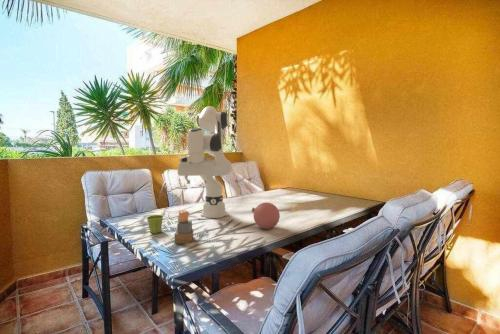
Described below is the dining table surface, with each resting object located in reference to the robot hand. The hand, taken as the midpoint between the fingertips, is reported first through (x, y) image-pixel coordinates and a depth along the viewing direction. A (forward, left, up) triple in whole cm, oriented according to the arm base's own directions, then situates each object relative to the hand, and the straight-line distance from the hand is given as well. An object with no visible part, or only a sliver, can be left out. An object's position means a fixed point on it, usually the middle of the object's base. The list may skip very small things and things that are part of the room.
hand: (197, 183), depth 158 cm
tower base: (+9, -6, -29) cm, 31 cm away
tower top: (+9, -6, -24) cm, 26 cm away
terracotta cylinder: (+9, -7, -18) cm, 21 cm away
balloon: (-11, +37, -29) cm, 49 cm away
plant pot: (-7, -26, -29) cm, 39 cm away
